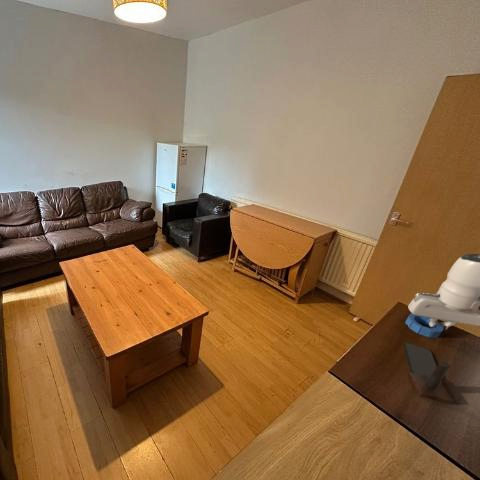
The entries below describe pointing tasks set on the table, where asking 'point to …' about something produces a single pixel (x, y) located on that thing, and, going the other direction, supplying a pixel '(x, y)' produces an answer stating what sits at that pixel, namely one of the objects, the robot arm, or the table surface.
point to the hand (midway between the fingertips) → (437, 327)
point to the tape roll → (421, 329)
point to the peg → (432, 384)
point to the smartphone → (420, 360)
